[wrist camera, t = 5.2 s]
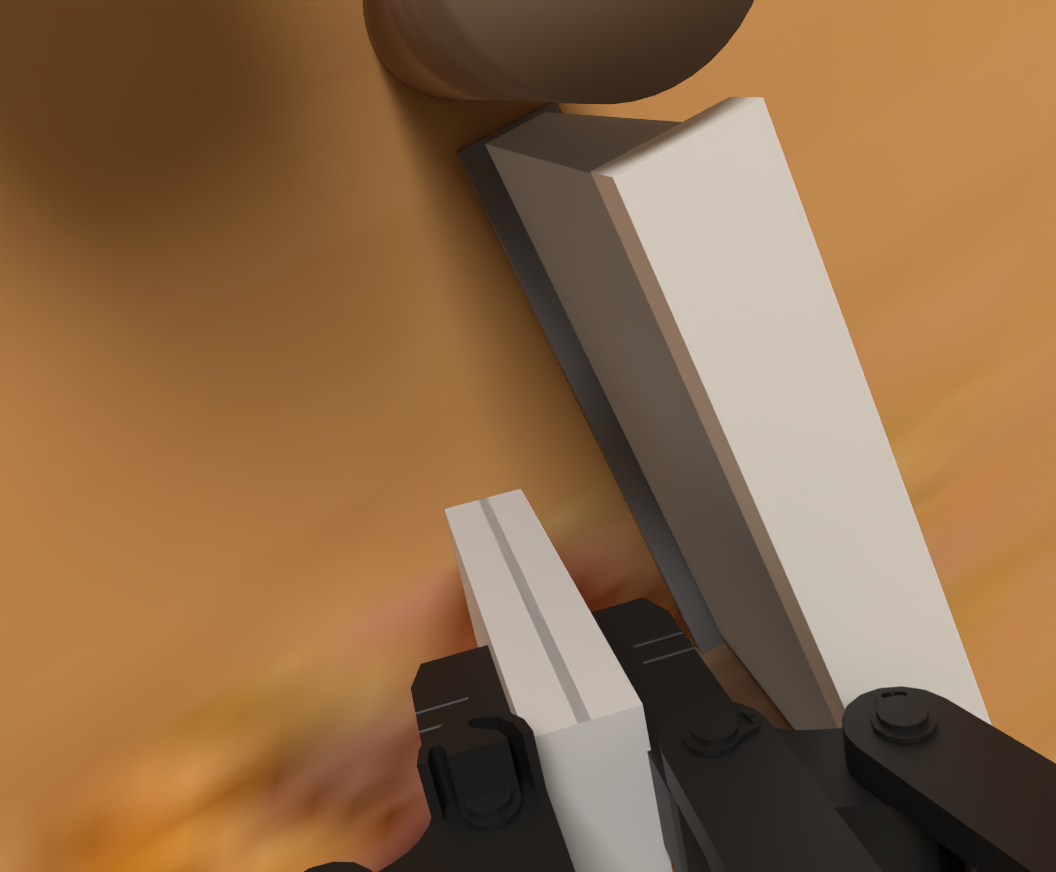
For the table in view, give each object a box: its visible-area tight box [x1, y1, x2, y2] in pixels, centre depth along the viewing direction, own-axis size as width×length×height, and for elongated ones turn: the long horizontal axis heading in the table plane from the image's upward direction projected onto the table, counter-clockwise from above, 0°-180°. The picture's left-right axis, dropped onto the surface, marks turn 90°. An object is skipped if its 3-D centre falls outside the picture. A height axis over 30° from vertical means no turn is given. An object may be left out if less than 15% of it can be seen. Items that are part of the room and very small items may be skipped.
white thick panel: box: [485, 97, 992, 730], centre depth 16 cm, size 12×2×9 cm, turn 26°
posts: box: [363, 0, 795, 730], centre depth 16 cm, size 19×3×10 cm, turn 26°
